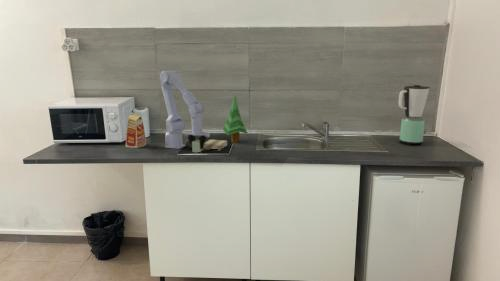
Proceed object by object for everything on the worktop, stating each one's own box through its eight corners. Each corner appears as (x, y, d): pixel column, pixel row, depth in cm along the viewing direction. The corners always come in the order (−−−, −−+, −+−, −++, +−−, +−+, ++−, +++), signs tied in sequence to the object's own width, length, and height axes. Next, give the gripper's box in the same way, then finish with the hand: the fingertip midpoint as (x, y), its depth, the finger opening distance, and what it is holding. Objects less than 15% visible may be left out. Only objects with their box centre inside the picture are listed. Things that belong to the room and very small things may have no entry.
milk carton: (125, 146, 214) (122, 113, 209) (135, 143, 222) (133, 110, 217) (138, 148, 211) (135, 114, 206) (148, 144, 219) (145, 111, 214)
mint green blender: (415, 139, 230) (421, 84, 221) (430, 145, 217) (437, 86, 209) (388, 141, 226) (394, 84, 217) (402, 146, 213) (408, 86, 205)
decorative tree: (251, 140, 228) (251, 92, 221) (236, 145, 215) (235, 95, 208) (234, 137, 235) (234, 91, 228) (218, 142, 223) (217, 93, 216)
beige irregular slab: (202, 148, 209) (202, 143, 208) (210, 144, 219) (210, 139, 219) (220, 150, 206) (220, 145, 205) (227, 145, 216) (227, 140, 215)
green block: (192, 152, 203) (191, 141, 201) (195, 149, 207) (195, 139, 205) (199, 152, 201) (199, 142, 200) (203, 150, 206) (202, 140, 204)
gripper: (181, 125, 199) (182, 149, 202) (206, 126, 195) (206, 151, 198) (187, 122, 205) (188, 146, 209) (211, 124, 201) (211, 148, 204)
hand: (197, 148), depth 204 cm, fingers closed on green block, 4 cm apart
